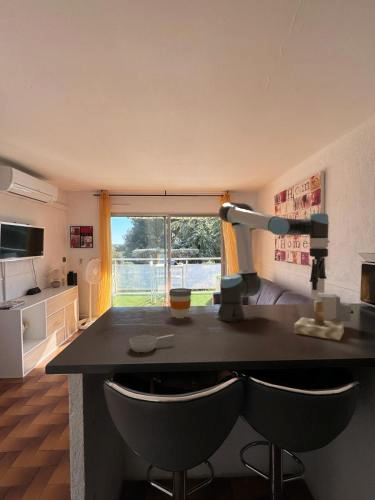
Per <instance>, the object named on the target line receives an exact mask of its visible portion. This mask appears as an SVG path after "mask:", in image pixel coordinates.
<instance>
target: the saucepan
mask: <svg viewBox="0 0 375 500" xmlns="http://www.w3.org/2000/svg"><path fill="white" fill-rule="evenodd" d="M174 336H175V334H174V333H173V334H166V335H162V336H158V337H157V336H154V335H147V334H146V335H145V334H144V335H138V336H133V337H132V338H130V339H129V340H128V341H129V346H130V349H131V350H132V351H133V352H135V353H139V352H144V353H149V352H151V351H154V350H155V348H156V346H157V345H158V340H161V339H165V338H171V337H174Z"/></svg>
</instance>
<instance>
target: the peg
mask: <svg viewBox="0 0 375 500" xmlns="http://www.w3.org/2000/svg"><path fill="white" fill-rule="evenodd" d="M313 306H314V307H313V315H314V316H313V319H314V321H315V322H314V324H316V325H324V323H323V322H324V301H318V300H313Z"/></svg>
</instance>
